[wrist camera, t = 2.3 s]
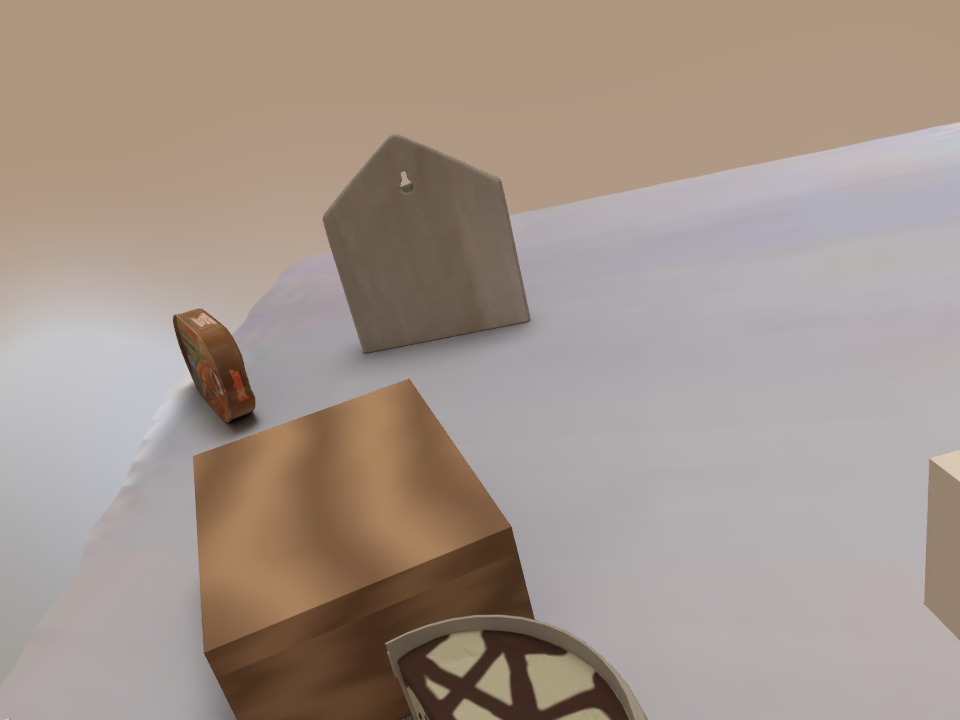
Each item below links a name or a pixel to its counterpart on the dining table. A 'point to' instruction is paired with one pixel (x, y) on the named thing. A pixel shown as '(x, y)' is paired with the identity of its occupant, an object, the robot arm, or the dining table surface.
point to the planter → (424, 248)
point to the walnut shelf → (342, 555)
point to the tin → (214, 363)
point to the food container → (506, 673)
